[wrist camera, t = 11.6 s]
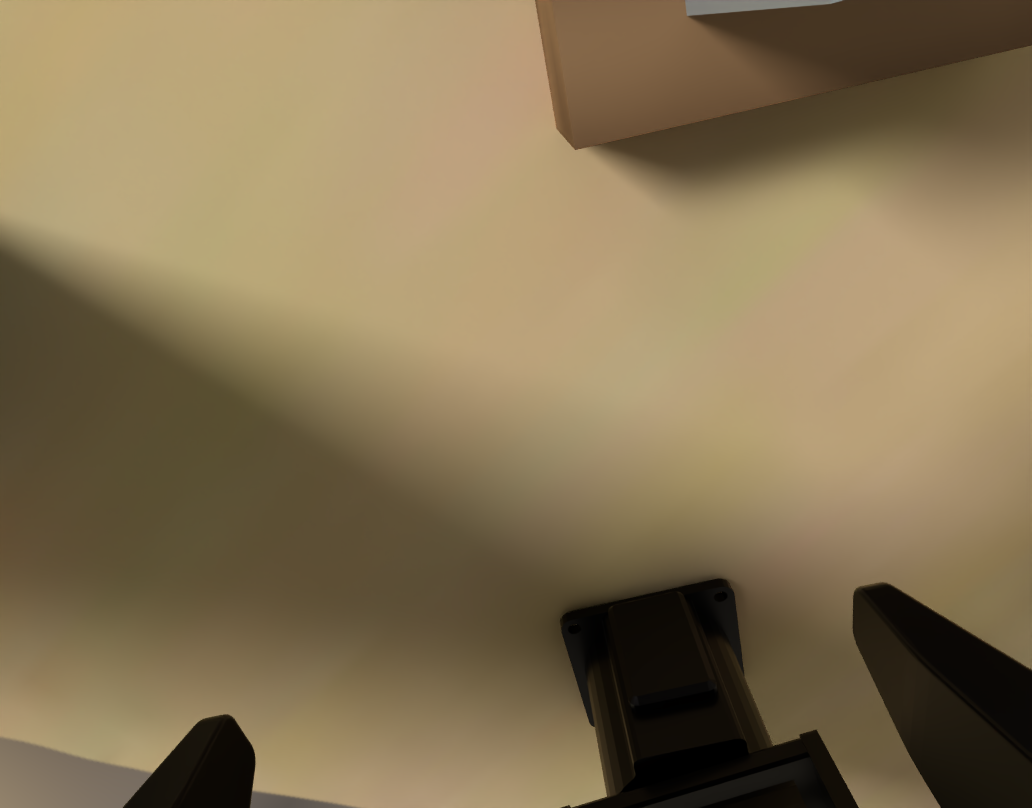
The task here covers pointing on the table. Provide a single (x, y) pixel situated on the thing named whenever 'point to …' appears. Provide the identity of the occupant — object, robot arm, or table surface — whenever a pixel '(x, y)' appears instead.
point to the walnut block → (746, 55)
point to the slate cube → (745, 5)
